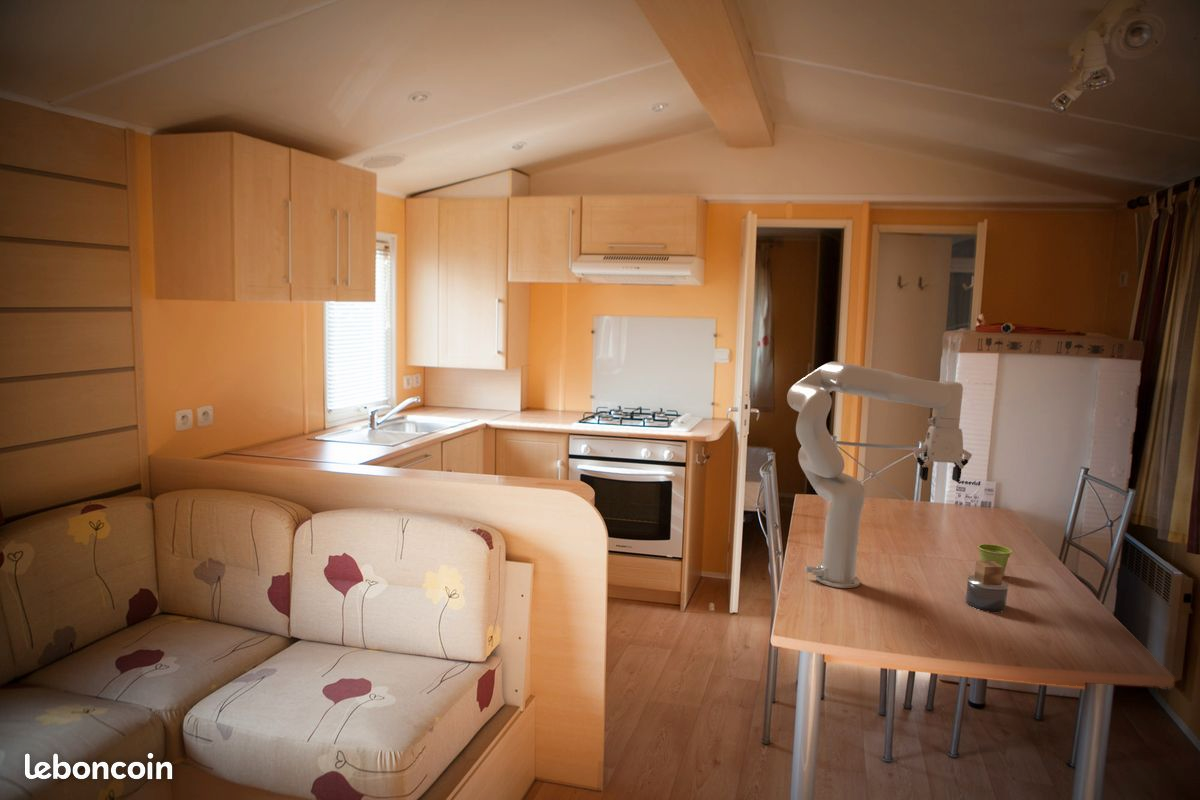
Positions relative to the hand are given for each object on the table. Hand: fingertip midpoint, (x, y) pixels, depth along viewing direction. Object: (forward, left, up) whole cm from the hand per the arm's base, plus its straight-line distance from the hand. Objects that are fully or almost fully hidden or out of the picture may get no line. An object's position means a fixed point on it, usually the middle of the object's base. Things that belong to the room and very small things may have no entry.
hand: (939, 480), depth 240 cm
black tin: (+6, -21, -30) cm, 37 cm away
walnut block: (+6, -21, -24) cm, 32 cm away
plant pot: (+22, +5, -31) cm, 38 cm away
